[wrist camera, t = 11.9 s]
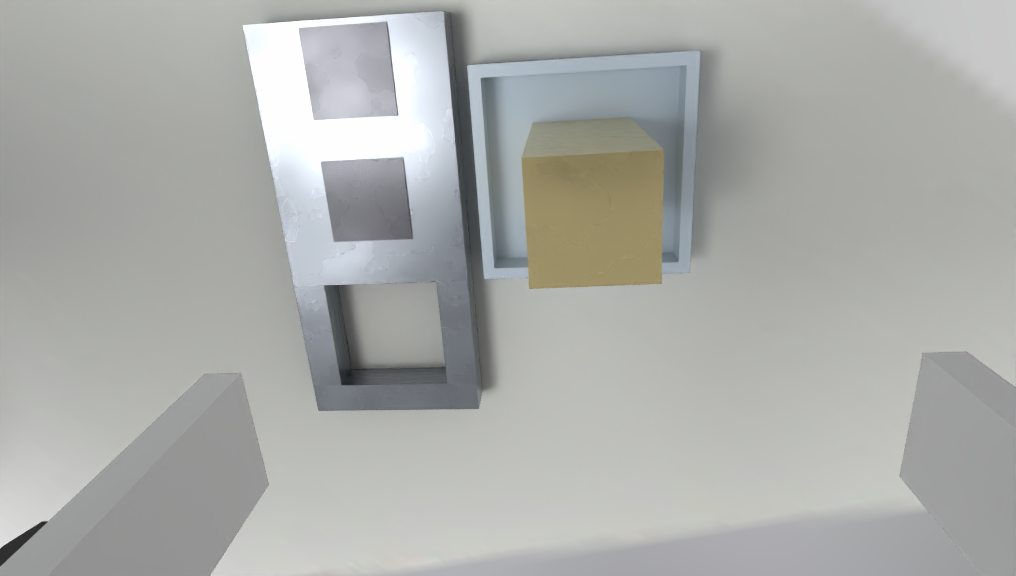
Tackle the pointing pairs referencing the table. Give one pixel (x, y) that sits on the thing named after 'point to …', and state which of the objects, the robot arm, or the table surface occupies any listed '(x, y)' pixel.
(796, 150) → the table surface
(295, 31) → the grey slotted plate
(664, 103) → the tray
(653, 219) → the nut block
